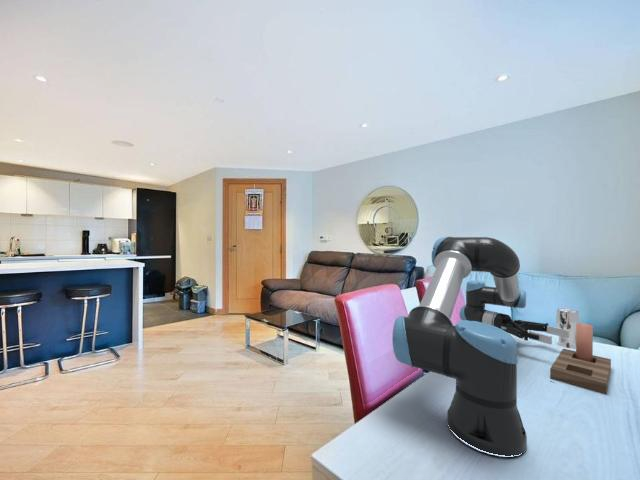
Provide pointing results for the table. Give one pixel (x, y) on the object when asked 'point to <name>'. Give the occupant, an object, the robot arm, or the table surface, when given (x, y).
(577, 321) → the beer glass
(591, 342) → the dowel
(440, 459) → the table surface
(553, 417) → the table surface
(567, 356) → the hole board
